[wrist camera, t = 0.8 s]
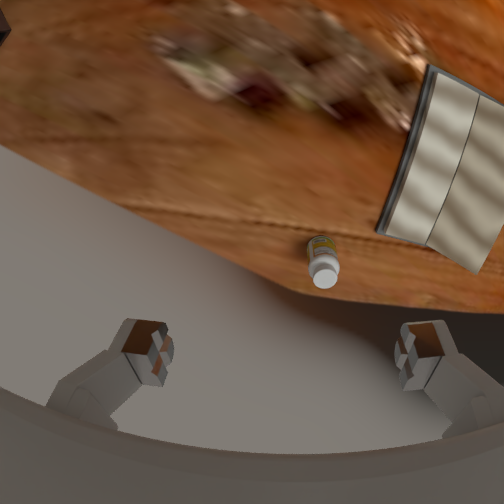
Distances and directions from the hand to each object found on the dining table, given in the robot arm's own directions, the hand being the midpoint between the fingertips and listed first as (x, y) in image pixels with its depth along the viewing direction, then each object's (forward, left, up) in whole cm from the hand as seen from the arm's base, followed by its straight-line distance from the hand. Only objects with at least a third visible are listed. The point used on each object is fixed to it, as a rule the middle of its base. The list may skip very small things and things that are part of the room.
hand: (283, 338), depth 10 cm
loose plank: (-1, +36, -39) cm, 53 cm away
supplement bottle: (+21, +11, -43) cm, 50 cm away
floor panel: (-1, +33, -43) cm, 54 cm away
